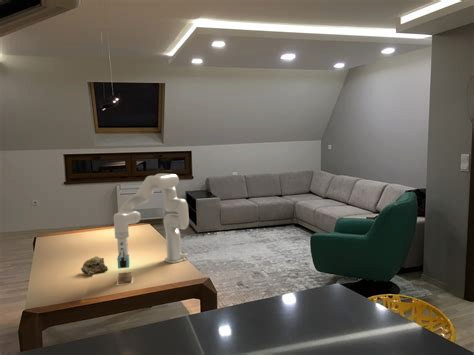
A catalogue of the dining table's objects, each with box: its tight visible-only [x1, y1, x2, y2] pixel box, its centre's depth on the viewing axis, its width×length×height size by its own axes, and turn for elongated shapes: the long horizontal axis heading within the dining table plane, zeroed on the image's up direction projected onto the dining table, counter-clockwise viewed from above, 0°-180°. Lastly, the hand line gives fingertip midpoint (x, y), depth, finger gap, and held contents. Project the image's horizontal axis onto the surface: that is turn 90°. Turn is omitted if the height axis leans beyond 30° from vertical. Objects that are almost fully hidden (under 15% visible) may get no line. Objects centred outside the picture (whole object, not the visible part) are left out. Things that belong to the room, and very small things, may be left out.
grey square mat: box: [116, 277, 134, 286], centre depth 228 cm, size 16×14×1 cm
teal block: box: [116, 253, 130, 270], centre depth 226 cm, size 6×6×6 cm
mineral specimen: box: [80, 255, 109, 275], centre depth 246 cm, size 14×13×10 cm
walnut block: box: [117, 271, 133, 285], centre depth 228 cm, size 7×7×4 cm
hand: (123, 265), depth 226 cm, fingers closed on teal block, 6 cm apart
